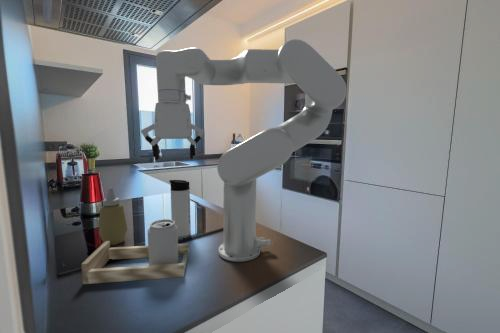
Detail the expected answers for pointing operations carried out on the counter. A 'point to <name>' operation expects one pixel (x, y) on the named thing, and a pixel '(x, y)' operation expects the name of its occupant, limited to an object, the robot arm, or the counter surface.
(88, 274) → the frame
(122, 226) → the squeeze bottle
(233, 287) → the counter surface
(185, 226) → the travel mug
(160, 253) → the can
